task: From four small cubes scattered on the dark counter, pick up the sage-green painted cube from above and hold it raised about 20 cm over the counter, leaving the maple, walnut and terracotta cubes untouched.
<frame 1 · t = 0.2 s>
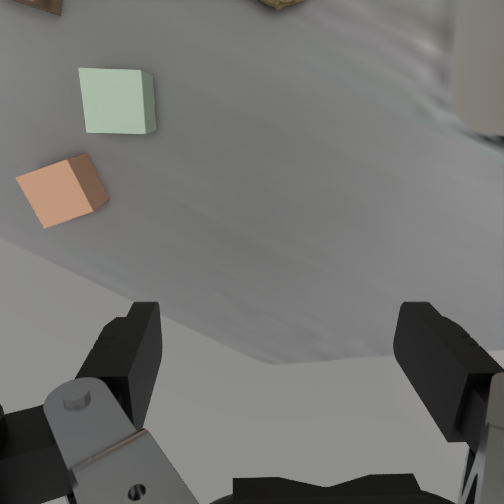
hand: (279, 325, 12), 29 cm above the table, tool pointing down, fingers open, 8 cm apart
terracotta block: (76, 184, 39), on the table
sage block: (128, 102, 36), on the table
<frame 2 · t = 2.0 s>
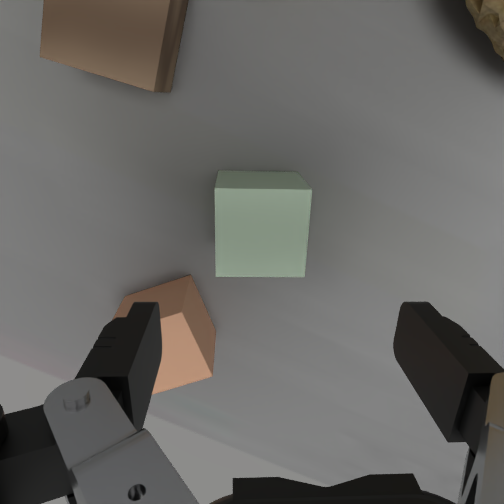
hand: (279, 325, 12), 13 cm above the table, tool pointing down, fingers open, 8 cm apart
terracotta block: (171, 313, 27), on the table
sage block: (256, 209, 25), on the table
walnut block: (134, 30, 20), on the table
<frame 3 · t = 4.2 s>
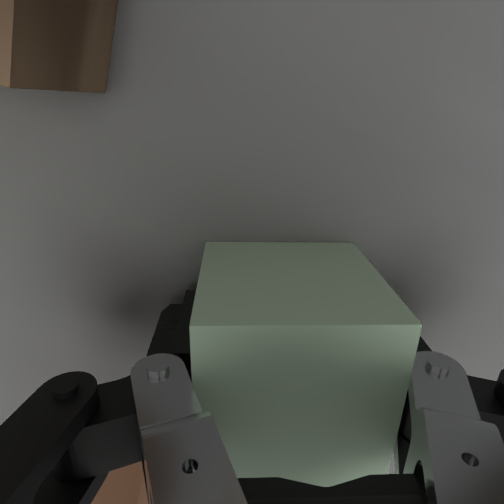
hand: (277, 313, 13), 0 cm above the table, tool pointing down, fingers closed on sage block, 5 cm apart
terracotta block: (129, 465, 16), on the table
sage block: (276, 306, 14), on the table, touching gripper
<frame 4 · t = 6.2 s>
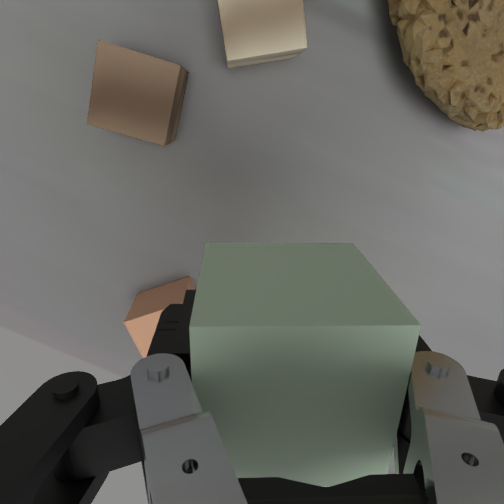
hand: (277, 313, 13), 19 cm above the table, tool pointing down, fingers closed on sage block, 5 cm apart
terracotta block: (174, 307, 35), on the table
maple block: (256, 25, 27), on the table
sage block: (276, 307, 14), point 19 cm above the table, touching gripper
walnut block: (148, 97, 28), on the table
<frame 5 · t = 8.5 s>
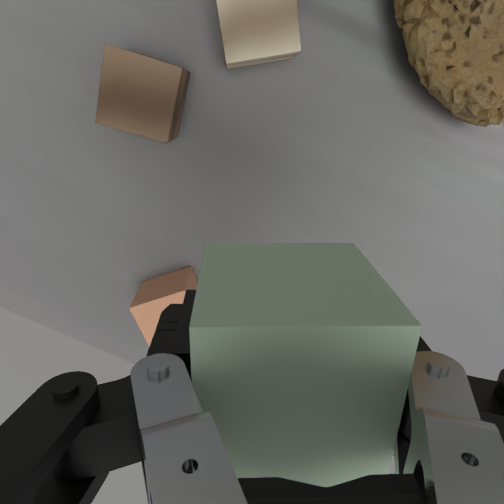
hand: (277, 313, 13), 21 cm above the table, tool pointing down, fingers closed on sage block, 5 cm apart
terracotta block: (176, 295, 37), on the table
maple block: (254, 27, 28), on the table
sage block: (276, 307, 14), point 21 cm above the table, touching gripper
walnut block: (152, 96, 30), on the table
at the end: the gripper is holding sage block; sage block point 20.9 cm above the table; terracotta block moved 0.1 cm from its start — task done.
